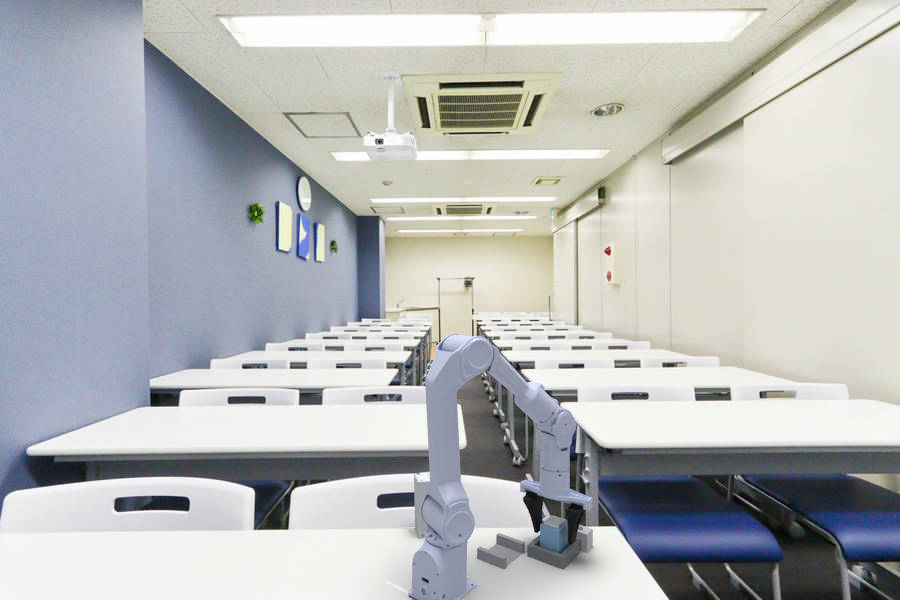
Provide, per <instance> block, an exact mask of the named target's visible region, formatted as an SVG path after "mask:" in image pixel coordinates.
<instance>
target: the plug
mask: <svg viewBox="0 0 900 600" xmlns="http://www.w3.org/2000/svg"><path fill="white" fill-rule="evenodd" d="M549 516H550V517H549V518H548V519H546V520H545V521H544V522H543V523H541V524H540V531H539V535H540V547H542V548H545V549H548V550H551V551H553V552H556V553H559V554H561V553H562V552H563V551H564V550H565V549H566V548H567V547H568V546H569V545H570V544H568V523H567V518H563V517H560V516H556V515H553V514H552V515H549Z"/></svg>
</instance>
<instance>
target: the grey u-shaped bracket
mask: <svg viewBox="0 0 900 600" xmlns="http://www.w3.org/2000/svg"><path fill="white" fill-rule="evenodd" d="M495 536H496V542H495V544H493V545H492V546H491V547H490V548H488V549H487V548H485V547H482V546H479V547H477V548H476V558H477V560H480V561H483V562H486V563H488V564H490V565H493V566H495V567H496V568H497V567H498V568H499V569H503V570H505V569H506V568H507V567H508V566H509V565H511V564H512V563H513V562H514V561H516V559H518V558H519V557H520V556H521V555H522V554H524V553H525V549H526V548H525V547H526V544H525V543H526V542H525V541H523V540H520V539H517V538H514V537H511V536H509V535H506V534H503V533H500V532H498V533H497V534H496V535H495Z"/></svg>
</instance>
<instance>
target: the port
mask: <svg viewBox="0 0 900 600" xmlns="http://www.w3.org/2000/svg"><path fill="white" fill-rule="evenodd" d="M550 516H551V515H548V514H546V516H544V517H542V523H543V522H544V521H545V520H546V519H548V518H549V517H550ZM593 533H594V530H593V528H591V527H588V526H584V525H581V524H580V525H579V528H578V531H577V536H576V541H575V542H574V543H573V544H572V545H571V544H570V545H569V546H568V547H567V548H566V549H565V550H564V551H563V552H562V553H561V554H559V553H556V552H553V551H551V550H548V549H545V548H542V547H540V534H539V535H538V536H536V537H535V538H534V539H533V540H531V542H529V543H528V544H527V545H526V546H527V547H526V549H527V552H526V556H527V557H528V558H530V559H534V560H536V561H539V562H542V563H544V564H547V565H550V566H551V567H554V568H558V569H559V570H560V569H561V570H562V571H564V570H565V569H566V568H567V567H568V565H570V563H572V561H573V560H574V559H575V558H576V557H577V556H578V555H579V554H580V553H581V552H583V553H585V554H588V553H589V552H590V551H591V549H593V546H594V545H593V543H594V542H593V541H594V540H593V539H594V535H593Z"/></svg>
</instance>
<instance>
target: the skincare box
mask: <svg viewBox="0 0 900 600" xmlns="http://www.w3.org/2000/svg"><path fill="white" fill-rule="evenodd" d="M428 482H430V471H425V472H424V471H423V472H416V473H414V474H413V488H414V489H413V490H414V492H413V493H414V494H413V495H414V529H415V531H416V534H417V538H418V539H425V537H426V523H425V522H424V521H423V519H422V517H421V514H420V506H421V502H422V500H423V496H424V486H425V485H426V484H427V483H428Z"/></svg>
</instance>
